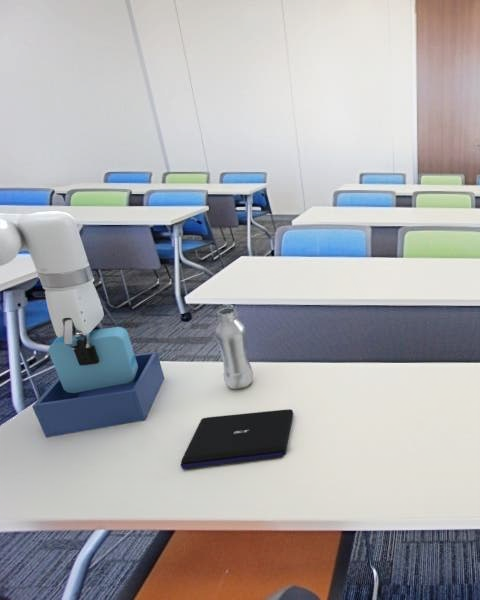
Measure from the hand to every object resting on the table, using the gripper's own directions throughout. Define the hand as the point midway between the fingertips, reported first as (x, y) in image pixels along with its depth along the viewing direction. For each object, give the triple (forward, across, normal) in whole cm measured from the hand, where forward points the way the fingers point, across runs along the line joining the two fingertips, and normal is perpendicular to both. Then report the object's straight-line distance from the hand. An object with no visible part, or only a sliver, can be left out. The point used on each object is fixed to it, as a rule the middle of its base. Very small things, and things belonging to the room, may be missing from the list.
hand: (95, 356), depth 85 cm
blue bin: (+12, 0, 0) cm, 12 cm away
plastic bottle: (+13, 0, +26) cm, 29 cm away
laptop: (+13, +21, +28) cm, 37 cm away
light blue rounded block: (+7, 0, 0) cm, 7 cm away
